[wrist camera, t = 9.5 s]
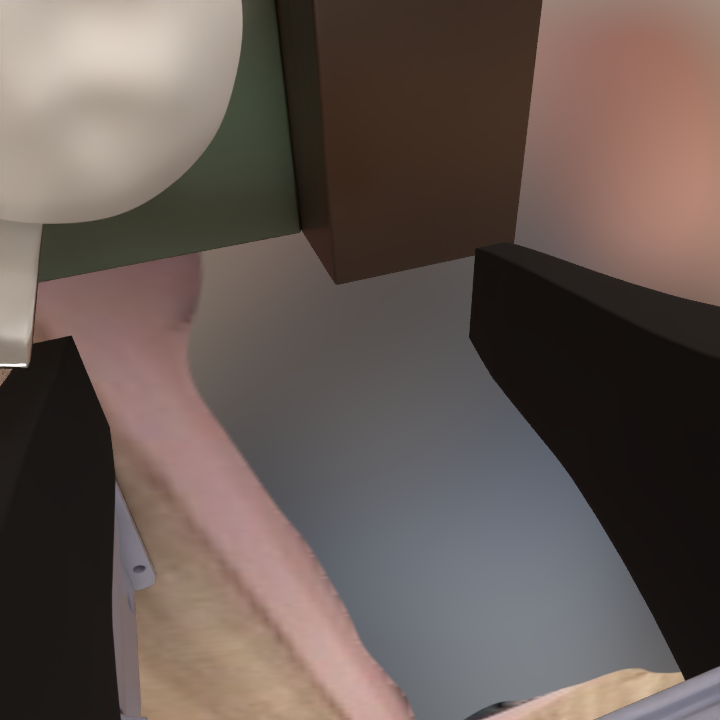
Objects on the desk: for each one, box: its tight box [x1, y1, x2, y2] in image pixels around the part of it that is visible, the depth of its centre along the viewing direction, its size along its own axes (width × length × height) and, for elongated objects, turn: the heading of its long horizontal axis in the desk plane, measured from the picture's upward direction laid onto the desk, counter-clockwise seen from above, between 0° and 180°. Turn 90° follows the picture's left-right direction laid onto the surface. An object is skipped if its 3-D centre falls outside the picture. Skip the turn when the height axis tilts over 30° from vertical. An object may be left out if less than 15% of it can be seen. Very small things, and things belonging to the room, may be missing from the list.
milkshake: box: [0, 0, 243, 369], centre depth 9 cm, size 4×5×10 cm
